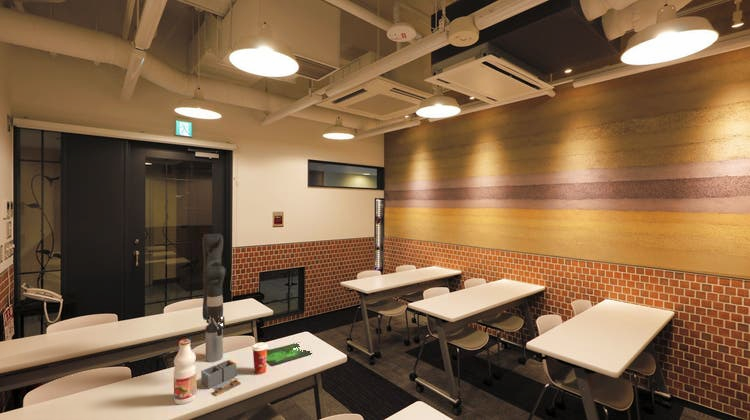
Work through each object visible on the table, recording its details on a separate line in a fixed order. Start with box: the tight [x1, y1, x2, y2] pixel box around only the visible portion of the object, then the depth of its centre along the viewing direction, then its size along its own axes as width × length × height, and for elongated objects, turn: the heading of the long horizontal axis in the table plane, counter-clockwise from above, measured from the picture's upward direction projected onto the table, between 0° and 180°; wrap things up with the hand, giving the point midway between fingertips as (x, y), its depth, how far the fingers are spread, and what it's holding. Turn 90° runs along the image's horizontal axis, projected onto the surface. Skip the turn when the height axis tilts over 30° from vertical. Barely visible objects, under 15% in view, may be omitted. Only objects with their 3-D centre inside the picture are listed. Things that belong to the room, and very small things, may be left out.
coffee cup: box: [251, 341, 269, 375], centre depth 180 cm, size 8×8×15 cm
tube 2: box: [215, 358, 238, 383], centre depth 175 cm, size 7×7×7 cm
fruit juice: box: [173, 338, 198, 405], centre depth 155 cm, size 9×9×28 cm
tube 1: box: [200, 365, 223, 390], centre depth 168 cm, size 7×7×7 cm
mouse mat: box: [266, 342, 313, 367], centre depth 202 cm, size 27×22×1 cm
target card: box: [211, 377, 239, 390], centre depth 168 cm, size 4×12×1 cm, turn 144°
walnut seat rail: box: [212, 380, 241, 397], centre depth 163 cm, size 3×13×2 cm, turn 144°
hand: (215, 333), depth 172 cm, fingers open, 8 cm apart
